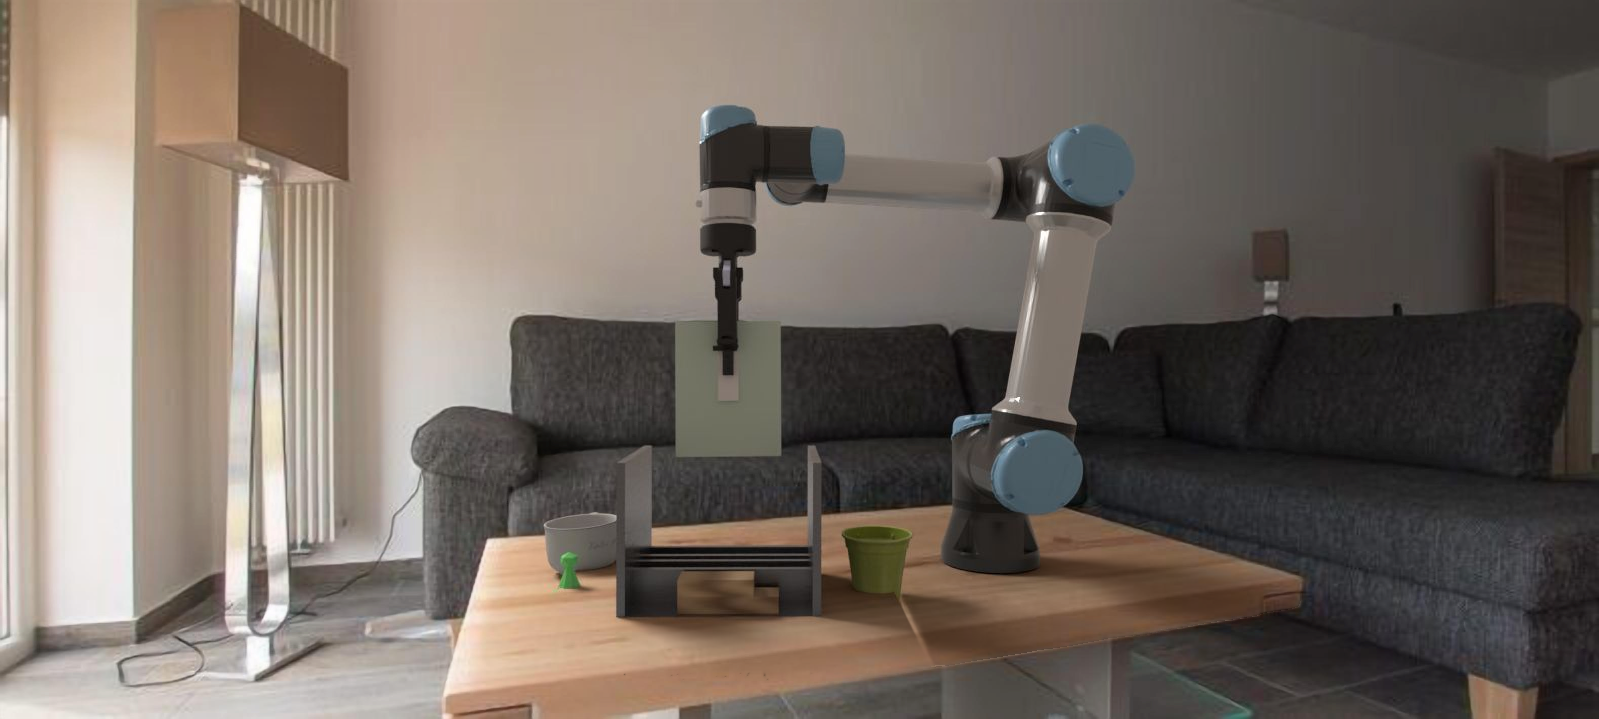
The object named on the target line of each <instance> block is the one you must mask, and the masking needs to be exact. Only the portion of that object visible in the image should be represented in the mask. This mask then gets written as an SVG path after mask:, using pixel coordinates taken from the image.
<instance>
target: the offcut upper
mask: <svg viewBox="0 0 1599 719" xmlns="http://www.w3.org/2000/svg"><path fill="white" fill-rule="evenodd" d="M754 588H755V571H682V572H681V574H680V576H679V578H678V580H677V597H753V596H754Z"/></svg>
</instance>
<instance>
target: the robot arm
mask: <svg viewBox="0 0 1599 719" xmlns="http://www.w3.org/2000/svg"><path fill="white" fill-rule="evenodd" d="M699 124H700V126H699V128H700V129H699V147H698V148H699V183H700V184H699V186H700V188H699V192H700V195H699V196H700V198H701V199H697V200H696V201H695V206H696V208H700V211H699V212H700V214H699V215H700V222H701V223H702V224H704V225H702V226H701V227H700V229H699V243H700V244H699V249H700V250H699V251H700V252H701V254H703V255H705V256H709V257H713V258H714V257H718V267H712V277H713V282H714V297H715V299H716V301H717V302H716V303H717V307H716V308H717V314H716V315H717V321H718V339H717V345H718V346H713V351H722V352H718V401H739V352H738V351H737V349H738V344H737V343H738V339H737V321H740V320H739V319H740V318H739V316H740V315H739V314H740V313H739V312H740V311H739V310H740V309H739V308H740V307H739V304H740V302H741V301H742V297H743V296H742V295H743V294H742V288H743V287H742V283H743V281H744V268H743V267H742V266H741V267H738V258H739V257H749V256H753V255H755V253H756V252H757V229H756V228H755V226H753V225H754V224H756V222H757V190H756V189H757V188H756V184H757V183H763V184H765V189H766V191H767V194H768V195H769V197H770V198H771V199H772V200H773V201H774V202H775V203H777V204H779V205H781V206H785V207H792V206H796V205H801V204H802V203H815V204H816V203H817V204H819V203H821V204H835V205H836V204H839V205H855V206H856V205H857V206H870V207H871V206H873V207H887V208H907V209H921V210H937V211H938V210H939V211H955V212H956V211H957V212H972V213H980V214H981V215H982V216H981V217H983V218H984V219H985V220H992V221H993V220H995V221H1006V222H1007V221H1008V222H1016V223H1017V222H1020V223H1026V224H1027V225H1028V227H1030V228H1029V229H1031V231H1032V232H1033V239H1032V243H1031V244H1032V245H1031V250H1030V256H1029V262H1028V268H1027V274H1026V279H1025V285H1024V291H1023V298H1022V300H1021V301H1022V302H1021V307H1020V314H1019V318H1018V325H1017V331H1016V336H1015V343H1014V347H1013V353H1012V359H1011V363H1010V371H1009V376H1008V380H1007V387H1006V392H1005V397H1004V399H1002V400H1001V401H1000V402H998V403H997V404H996V405H994V406H993V407H992V408H991V413H983V414H982V413H980V414H979V413H978V414H967V415H961V416H957V417H956V418H955V419H954V421H953V424H952V434H951V437H950V440H951V443H952V444H951V446H952V448H951V450H952V452H951V455H952V456H951V457H952V458H951V459H952V461H951V462H952V463H951V464H952V466H951V467H952V470H951V472H952V473H951V474H952V476H951V477H952V487H951V488H952V489H951V491H952V498H951V500H952V508H951V510H952V511H951V514H950V517H949V520H948V523H947V526H946V528H945V532H944V535H943V538H942V541H941V545H940V560H941V562H943V563H944V564H946V565H947V566H950V567H953V568H956V569H960V570H963V571H964V570H965V571H969V572H971V571H972V572H978V573H986V574H987V573H989V574H1015V573H1023V572H1029V571H1033V570H1036V569H1037V568H1039V567H1040V565H1041V550H1040V546H1039V543H1038V541H1037V540H1038V539H1037V538H1036V534H1035V532H1034V528H1033V525H1032V522H1031V519H1030V516H1042V515H1043V516H1045V515H1049V514H1052V513H1055V512H1057V511H1058V510H1060V509H1062V508H1063V507H1065V506H1066V505H1067V504H1069V502H1070V501H1072V500H1073V498H1074V497H1075V495H1076V494H1077V493H1078V492H1079V491H1078V490H1079V488H1080V486H1081V484H1082V480H1083V475H1084V470H1083V469H1084V465H1083V459H1082V456H1081V454H1080V453H1079V451H1078V449H1077V446H1076V445H1075V444H1074V442H1075V437H1076V431H1077V426H1078V425H1077V424H1078V423H1077V421H1076V419H1075V418H1074V417H1073V415H1072V413H1071V412H1070V410H1069V404H1070V398H1071V392H1072V386H1073V381H1074V374H1075V369H1076V364H1077V358H1078V352H1079V351H1078V350H1079V346H1080V340H1081V336H1082V330H1083V329H1082V328H1083V323H1084V319H1085V313H1086V312H1085V311H1086V307H1087V302H1088V301H1087V299H1088V296H1089V288H1090V285H1091V284H1090V283H1091V278H1092V272H1093V266H1094V262H1095V254H1096V250H1097V243H1098V242H1099V240H1100V239H1101V238H1103V237H1104V236H1106V235H1107V234H1108V233H1109V232H1111V231H1112V225H1113V224H1112V223H1113V219H1114V214H1115V209H1116V204H1117V203H1118V202H1119V201H1120V200H1122V199H1123V198H1124V197H1125V196H1126V194H1127V193H1128V192H1129V191H1130V189H1131V188H1132V186H1133V184H1134V183H1133V182H1134V181H1135V177H1136V176H1135V175H1136V161H1135V157H1134V154H1133V151H1132V149H1131V147H1130V145H1129V144H1127V142H1126V141H1125V140H1124V138H1123V136H1122V135H1120V134H1119V133H1118V132H1117V131H1115V130H1114V129H1113V128H1110V127H1109V126H1107V125H1103V124H1100V123H1099V124H1098V123H1088V122H1087V123H1081V124H1077V125H1075V126H1074V127H1071V128H1066V129H1064V130H1062V131H1061V132H1059V133H1057V135H1055V136H1054V138H1053V139H1051V140H1049V141H1048V142H1046V143H1044V144H1043V145H1041V146H1039V147H1038V148H1036V149H1035V150H1033V151H1030V152H1028V153H1025V154H1020V155H1017V156H1009V157H1005V156H1004V157H1003V156H991V157H990V158H989V159H988V160H986V161H985V162H977V161H976V162H975V161H961V160H960V161H959V160H944V159H943V160H942V159H929V158H916V157H915V158H913V157H900V156H899V157H898V156H896V157H895V156H882V155H869V154H868V155H867V154H854V153H853V154H851V153H846V143H845V138H844V134H843V133H842V131H841V130H840V129H838V128H833V127H823V126H820V125H814V126H793V125H792V126H789V125H787V126H785V125H763V124H758V120H756V114H755V112H754V111H753V110H752V109H750V108H749V107H745V106H738V105H736V104H721V105H720V104H719V105H715V106H712V107H710V108H707V109H705V111H704V112H703V113H702V114H701V118H700V123H699Z"/></svg>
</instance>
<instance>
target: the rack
mask: <svg viewBox="0 0 1599 719" xmlns="http://www.w3.org/2000/svg"><path fill="white" fill-rule="evenodd" d="M652 448H653V446H652V445H643V446H641V447H639V448H638V449H637V450H635V451H633V452H632V453H630V454H629V455H627V456H625V457H624V458H622V459H621V460H619V461H617V462H616V491H615V492H616V496H615V497H616V501H615V502H616V504H615V505H616V511H615V512H616V514H615V515H616V560H615V561H616V565H615V567H616V568H615V570H616V572H615V574H616V575H615V576H616V577H615V579H616V580H615V586H616V587H615V588H616V589H615V590H616V591H615V592H616V593H615V606H616V607H615V618H731V617H732V618H738V617H739V618H743V617H744V618H750V617H751V618H752V617H753V618H758V617H759V618H760V617H761V618H766V617H769V618H770V617H771V618H772V617H775V618H777V617H778V618H779V617H781V618H782V617H785V618H787V617H789V618H790V617H793V618H794V617H796V618H797V617H802V618H803V617H804V618H805V617H806V618H807V617H822V482H823V480H822V478H823V477H822V474H823V473H822V469H823V468H822V460H821V458H820V456H819V452H818V450H817V446H816V445H807V545H805V544H803V545H801V544H799V545H798V544H797V545H794V544H793V545H791V544H789V545H787V544H785V545H784V544H783V545H782V544H781V545H780V544H779V545H773V544H772V545H771V544H770V545H768V544H767V545H764V544H763V545H758V544H757V545H754V544H753V545H752V544H751V545H750V544H748V545H747V544H746V545H744V544H743V545H741V544H740V545H731V544H729V545H723V544H722V545H652V544H653V543H652V542H653V540H652V535H653V534H652V533H653V532H652V528H653V524H652V519H653V517H652V516H653V514H652V512H653V511H652V510H653V506H652V503H653V502H652V500H653V498H652V496H653V489H652V487H653V486H652V484H653V482H652V480H653V478H652V477H653V476H652V474H653V469H652V468H653V467H652V466H653V464H652V462H653V460H652V459H653V458H652V455H653V449H652ZM682 571H755V587H779V614H677V580H678V578H679V576H680V574H681V572H682Z"/></svg>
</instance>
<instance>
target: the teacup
mask: <svg viewBox="0 0 1599 719" xmlns="http://www.w3.org/2000/svg"><path fill="white" fill-rule="evenodd" d="M543 528H544V539H545V549H546V557H547V558H546V559H547V562H548V564H549V565H550V567H551V568H552V569H553V570H555V571H556V572H558V573H559V574H560V575H561V576H563V573H564V570H565V566H562V565H561V556H562V555H564V554H566V553H568V552H571V553H573V554H575V555H578V560H577V565H575V566H573V568H574V571H575V572H577V571H588V570H596V569H597V570H598V569H602V568H606V567H608V566H610V565H613V564H614V562H615V561H616V514H611V513H600V512H597V511H595V512H590V513H582V514H574V515H573V514H572V515H567V516H563V517H558V518H554V519H551V520H547V521H546V522H545V523H544V524H543Z"/></svg>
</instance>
